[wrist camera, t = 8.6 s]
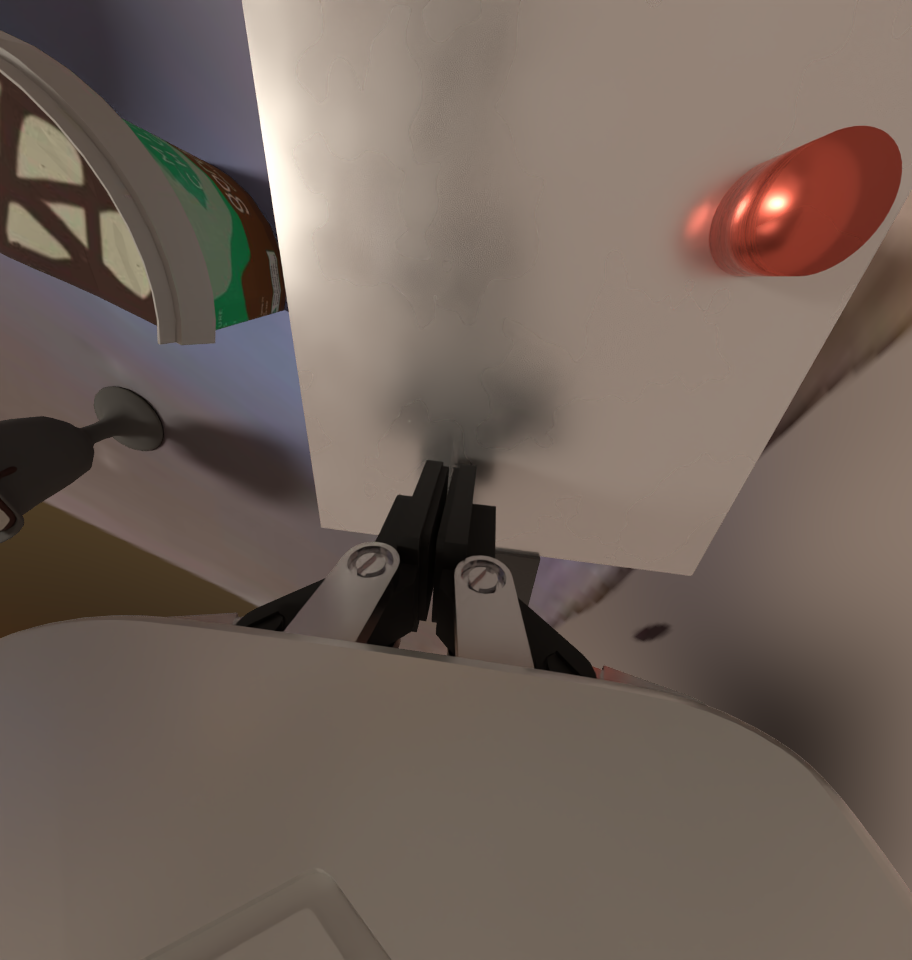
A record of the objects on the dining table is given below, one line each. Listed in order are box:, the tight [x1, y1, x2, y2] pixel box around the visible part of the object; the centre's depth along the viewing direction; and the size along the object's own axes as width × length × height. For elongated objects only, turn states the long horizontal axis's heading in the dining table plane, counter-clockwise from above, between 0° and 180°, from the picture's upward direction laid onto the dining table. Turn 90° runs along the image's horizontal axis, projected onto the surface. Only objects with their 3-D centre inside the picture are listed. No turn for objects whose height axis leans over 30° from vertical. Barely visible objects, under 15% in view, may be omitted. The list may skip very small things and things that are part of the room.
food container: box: [0, 31, 286, 345], centre depth 15 cm, size 12×6×10 cm, turn 63°
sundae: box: [0, 386, 163, 543], centre depth 19 cm, size 7×7×15 cm
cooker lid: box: [242, 0, 912, 606], centre depth 11 cm, size 20×14×3 cm
